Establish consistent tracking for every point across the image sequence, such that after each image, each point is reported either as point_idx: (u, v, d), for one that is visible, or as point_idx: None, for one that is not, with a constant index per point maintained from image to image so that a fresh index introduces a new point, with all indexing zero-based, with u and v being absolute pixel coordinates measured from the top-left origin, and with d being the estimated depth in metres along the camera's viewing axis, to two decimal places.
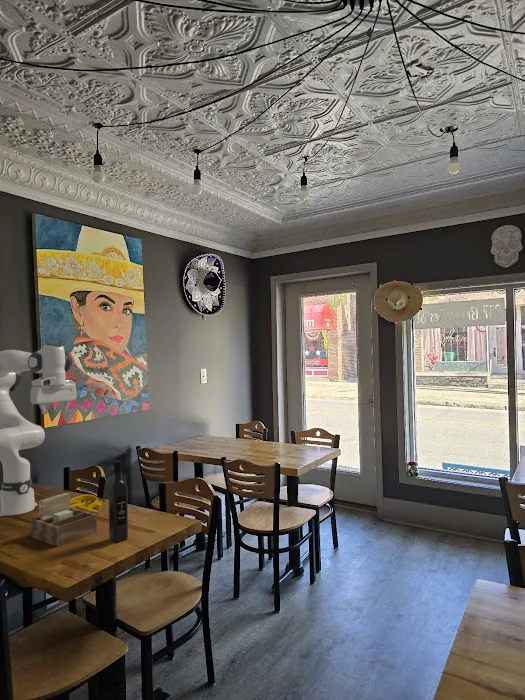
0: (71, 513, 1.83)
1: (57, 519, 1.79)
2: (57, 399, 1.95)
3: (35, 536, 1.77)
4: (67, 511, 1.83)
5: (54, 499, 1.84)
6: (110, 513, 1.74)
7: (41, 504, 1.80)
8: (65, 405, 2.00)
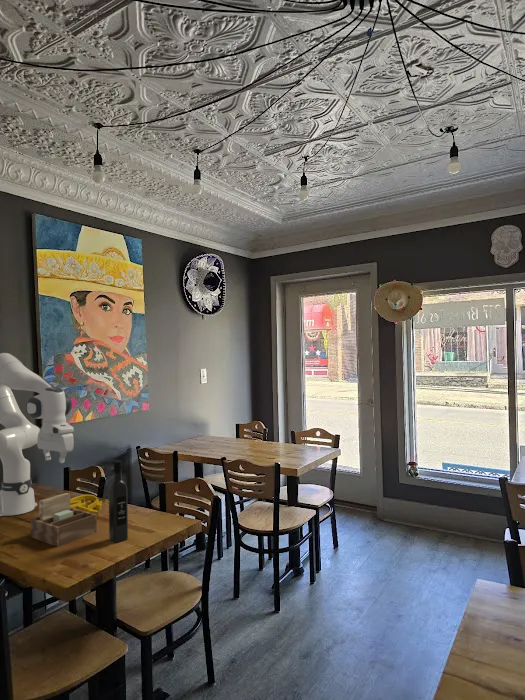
0: (71, 513, 1.83)
1: (57, 519, 1.79)
2: None
3: (35, 536, 1.77)
4: (67, 511, 1.84)
5: (54, 499, 1.84)
6: (110, 513, 1.74)
7: (41, 504, 1.80)
8: (47, 453, 1.88)
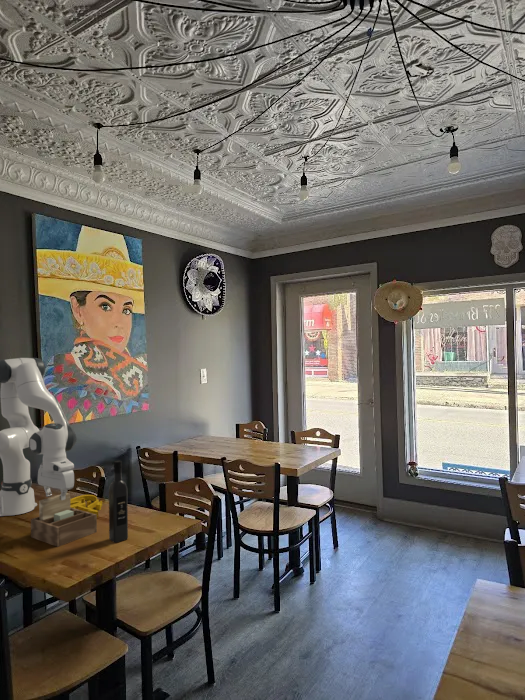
0: (72, 513, 1.83)
1: (58, 519, 1.79)
2: None
3: (35, 536, 1.77)
4: (68, 511, 1.84)
5: (54, 499, 1.84)
6: (110, 513, 1.74)
7: (41, 504, 1.80)
8: (48, 489, 1.88)
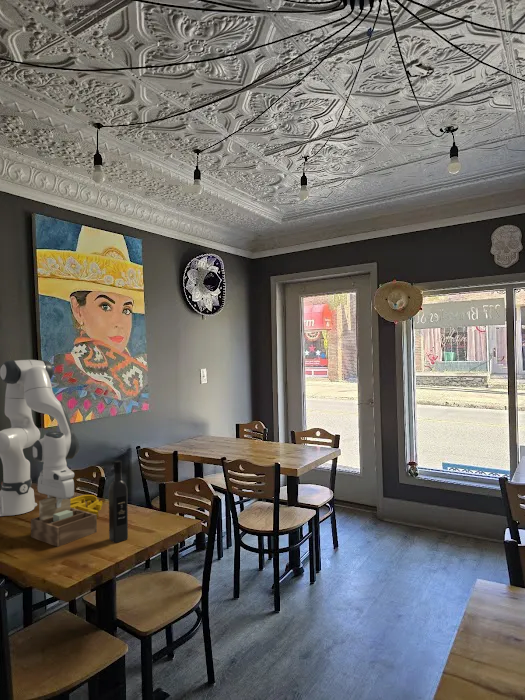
0: (71, 513, 1.83)
1: (57, 519, 1.79)
2: None
3: (35, 536, 1.77)
4: (67, 511, 1.83)
5: (54, 499, 1.84)
6: (110, 513, 1.74)
7: (41, 504, 1.80)
8: None
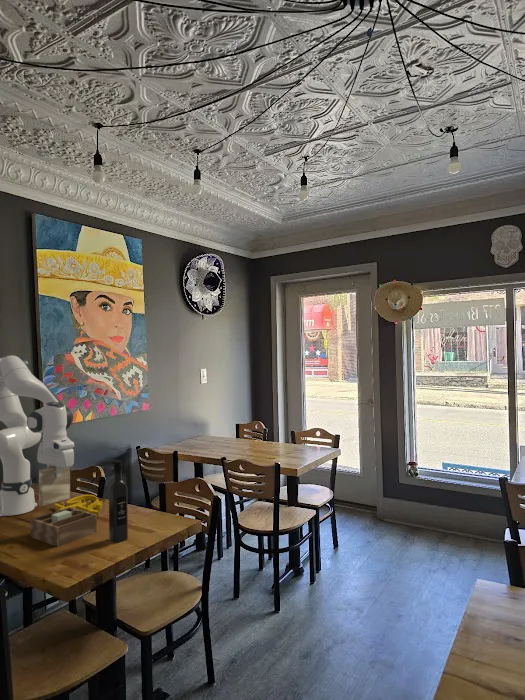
0: (70, 513, 1.82)
1: (56, 520, 1.78)
2: None
3: (35, 536, 1.77)
4: (66, 511, 1.83)
5: (54, 469, 1.84)
6: (110, 513, 1.74)
7: (41, 473, 1.80)
8: None
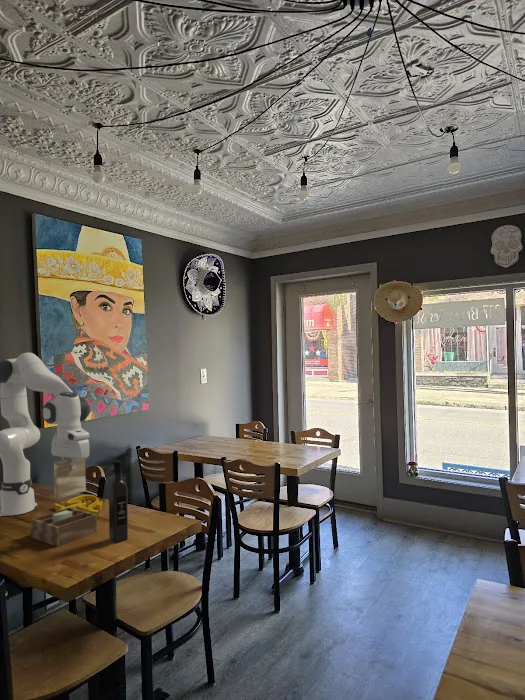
0: (70, 513, 1.82)
1: (57, 519, 1.78)
2: None
3: (35, 536, 1.77)
4: (66, 511, 1.83)
5: (69, 460, 1.78)
6: (110, 513, 1.74)
7: (56, 465, 1.75)
8: None
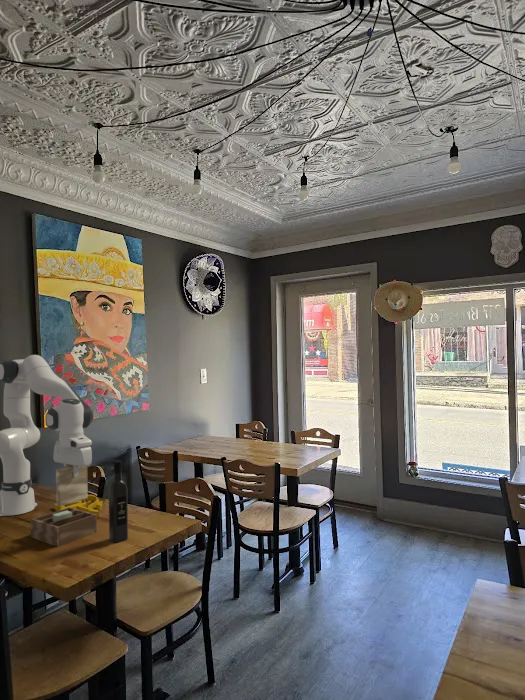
0: (70, 514, 1.82)
1: (56, 519, 1.79)
2: None
3: (35, 536, 1.77)
4: (67, 512, 1.83)
5: (71, 467, 1.78)
6: (110, 513, 1.74)
7: (58, 472, 1.74)
8: None
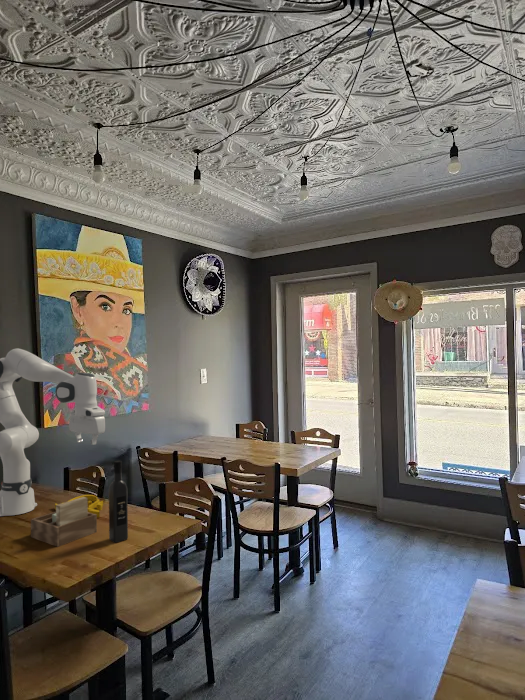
0: None
1: None
2: None
3: (35, 536, 1.77)
4: None
5: (71, 503, 1.77)
6: (110, 513, 1.74)
7: (58, 509, 1.74)
8: (79, 436, 1.96)
